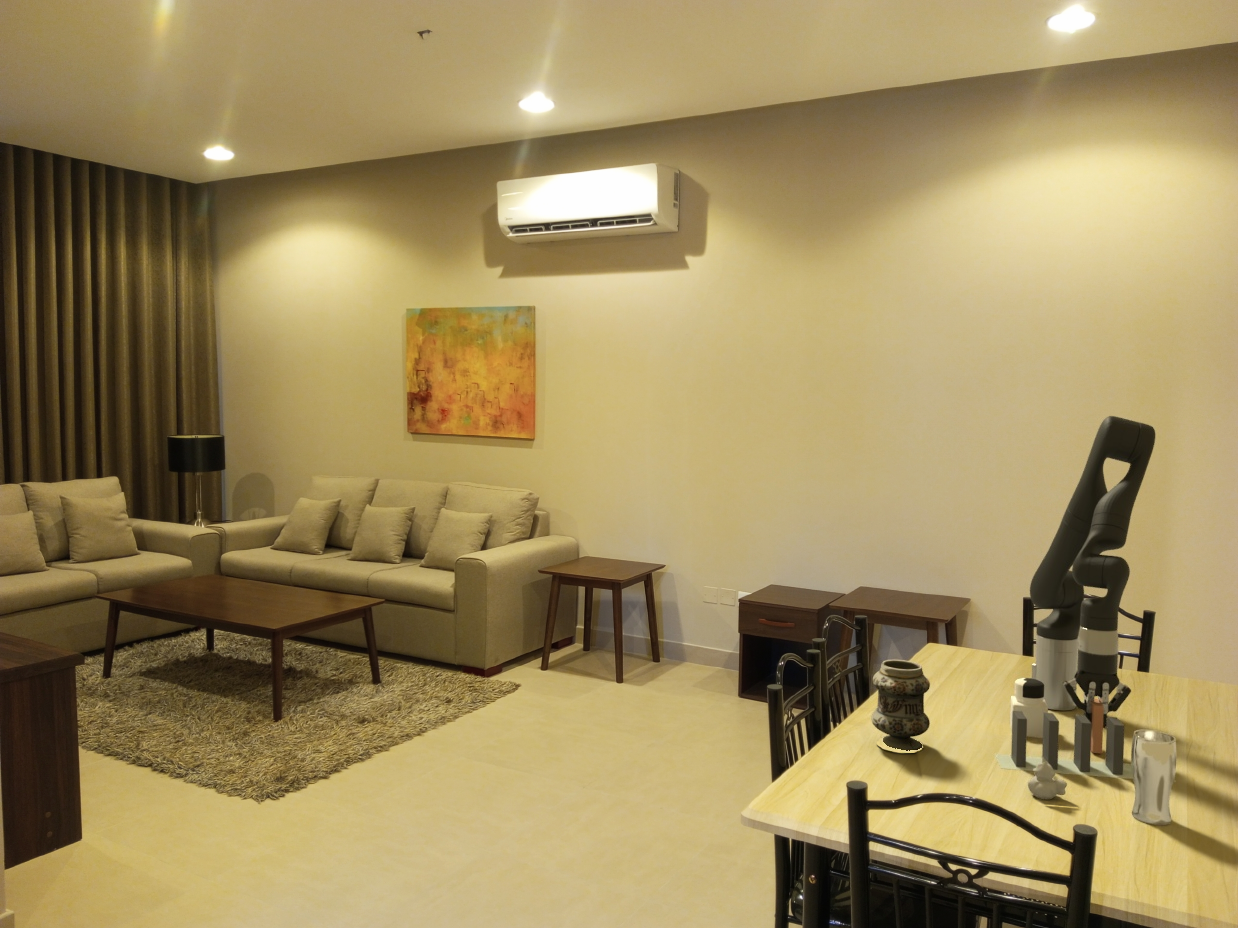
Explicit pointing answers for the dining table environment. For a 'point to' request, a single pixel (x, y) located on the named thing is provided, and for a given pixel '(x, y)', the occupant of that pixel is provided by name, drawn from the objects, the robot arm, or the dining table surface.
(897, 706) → the apothecary jar
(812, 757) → the dining table surface
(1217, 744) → the dining table surface
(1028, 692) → the medicine bottle
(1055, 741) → the domino
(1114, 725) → the domino
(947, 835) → the dining table surface
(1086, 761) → the domino
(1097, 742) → the domino
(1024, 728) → the domino
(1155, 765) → the beer glass
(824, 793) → the dining table surface
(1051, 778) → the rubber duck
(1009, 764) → the mat
